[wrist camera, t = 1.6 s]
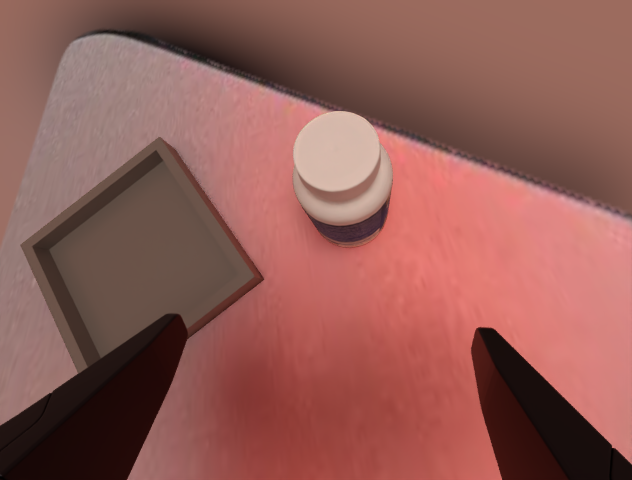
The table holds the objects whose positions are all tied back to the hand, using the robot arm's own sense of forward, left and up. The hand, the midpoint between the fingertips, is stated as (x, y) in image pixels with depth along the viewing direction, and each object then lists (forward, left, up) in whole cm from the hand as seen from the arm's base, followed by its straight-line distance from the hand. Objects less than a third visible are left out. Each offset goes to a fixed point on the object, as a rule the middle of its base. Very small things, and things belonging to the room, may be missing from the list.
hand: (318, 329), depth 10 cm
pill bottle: (+5, +6, -13) cm, 15 cm away
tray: (-10, +13, -13) cm, 21 cm away
